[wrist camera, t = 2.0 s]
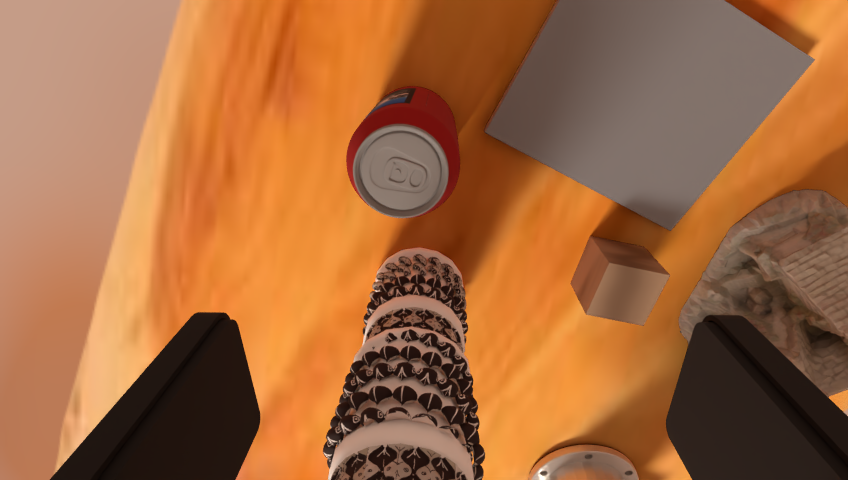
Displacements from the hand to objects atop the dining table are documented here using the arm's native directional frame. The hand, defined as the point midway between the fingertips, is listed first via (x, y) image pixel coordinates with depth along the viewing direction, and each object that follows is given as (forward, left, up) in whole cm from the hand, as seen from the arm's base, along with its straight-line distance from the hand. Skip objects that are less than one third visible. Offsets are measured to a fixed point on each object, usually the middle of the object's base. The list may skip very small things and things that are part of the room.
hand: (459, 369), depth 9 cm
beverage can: (+2, +2, -28) cm, 29 cm away
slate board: (-12, -8, -28) cm, 32 cm away
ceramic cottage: (-32, 0, -29) cm, 43 cm away
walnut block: (-19, +5, -28) cm, 35 cm away
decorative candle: (-5, +15, -28) cm, 33 cm away
